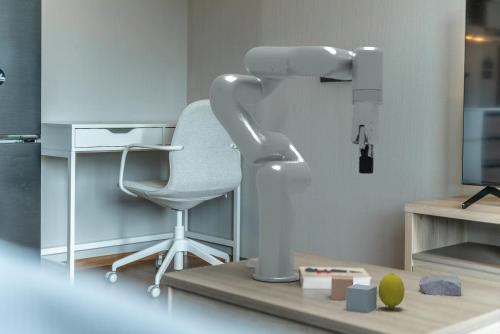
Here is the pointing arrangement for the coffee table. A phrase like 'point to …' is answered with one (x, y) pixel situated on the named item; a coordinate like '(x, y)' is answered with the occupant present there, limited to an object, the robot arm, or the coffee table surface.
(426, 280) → the stone block
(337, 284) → the terracotta block
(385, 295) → the lemon
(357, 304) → the slate block
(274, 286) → the coffee table surface
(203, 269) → the coffee table surface
